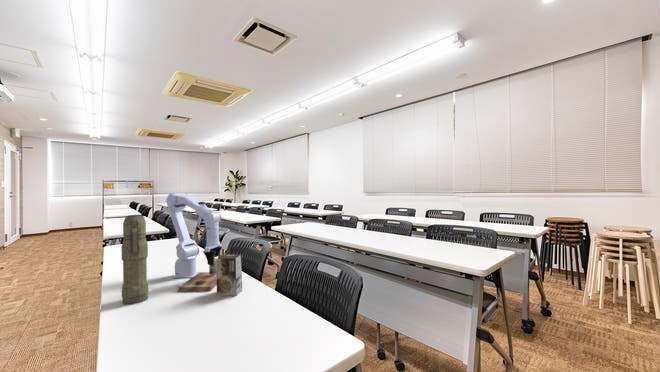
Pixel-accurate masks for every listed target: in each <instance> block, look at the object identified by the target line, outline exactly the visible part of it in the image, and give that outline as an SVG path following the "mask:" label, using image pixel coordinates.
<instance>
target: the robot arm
mask: <svg viewBox="0 0 660 372" xmlns="http://www.w3.org/2000/svg"><path fill="white" fill-rule="evenodd" d="M165 202H166V206H167V208H168V211H169V214H170V218H171V221H172V225H173V226H174V230H175V233H176V236H177V240H178V244H177V245H176V246H175V250H176V256H177V259H175V263H174V277H173V278H174V279H179V278H182V279H185V278H186V279H188V278H189V279H191V278H192V277H194V276H195V275H197V274H198V273H199V272H200V271H197V258H198V255H199V254H200V247H199V245H198V244H197V242H196V241H195V240H194V239H191V236H190V234H189V230H188V227H187V224H186V221H185V218H184V216H183V210H184V209H185V208H187V207H189V208H191V209H192V210H194V212H195V214H196V215H197V216H199V217H200V218H201V219H203V222H204V225H205V228H206V245H205V247H204V250H203V254H204V257H205V259H206V261H207V262H208V264H207V265H208V266H209V265H213V263H214V256H215V255H216V256H220V253H221V250H222V248H223V247H222V244H221V241H220V227H219V226H220V222H221V221H222V214H221V213H220V212H219V211H214V210H213V209H211V208H209V207H208V206H207V205H206V204H199V203H198V202H197V201H196V200H195V199H193V198H192V196H191V194H189V193H187V192H183V193H180V192H179V193H178V192H177V193H174V192H173V193H172V192H171V193H169V194H168V195H167V197H166V199H165Z"/></svg>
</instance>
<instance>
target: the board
mask: <svg viewBox="0 0 660 372" xmlns="http://www.w3.org/2000/svg"><path fill="white" fill-rule="evenodd" d="M198 272H199V273H198V274H197V275H195V276H194V277H192V278H189V279H188V280H186V281H185V282H184V283H182V284H180V285H179V286H178V287H177V290H178V293H179V292H181V293H185V292H211V291H212V290H213V289H214V288H215V287H217V274H216V273H215V274H209V271H205V272H204V271H203V272H200V271H198Z"/></svg>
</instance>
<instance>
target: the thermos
mask: <svg viewBox="0 0 660 372" xmlns="http://www.w3.org/2000/svg"><path fill="white" fill-rule="evenodd" d="M122 226H123V227H122V229H123V230H122V234H123V235H122V236H123V240H122V241H123V242H122V244H121V245H120V246H121V250H120V251H121V261H122V279H123V281H122V286H121V298H122V301H121V302H122V305H126V306H129V305H130V306H131V305H132V306H133V305H137V304H140V303H143V302H145V301H148V299H149V283H148V278H147V277H148V275H147V273H148V270H147V267H148V266H147V258H148V256H149V247H148V246H149V243H148V241H147V236H146V234H147V221H146V218H145V217H144V215H142V214H132V215H131V214H130V215H127V216H125V218H124V220H123V224H122Z"/></svg>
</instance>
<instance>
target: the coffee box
mask: <svg viewBox="0 0 660 372" xmlns="http://www.w3.org/2000/svg"><path fill="white" fill-rule="evenodd" d="M242 256H243V255H242V254H221V255H219V257H218V258H216V274H217V285H216V296H232V297H233V296H238V295H239V294H240V293H241V292H242V291H243V267H242V266H243V264H242V263H243V260H242V258H243V257H242Z"/></svg>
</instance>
